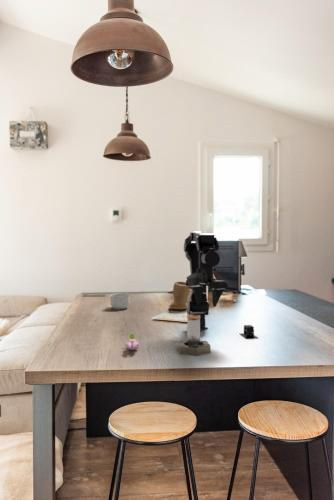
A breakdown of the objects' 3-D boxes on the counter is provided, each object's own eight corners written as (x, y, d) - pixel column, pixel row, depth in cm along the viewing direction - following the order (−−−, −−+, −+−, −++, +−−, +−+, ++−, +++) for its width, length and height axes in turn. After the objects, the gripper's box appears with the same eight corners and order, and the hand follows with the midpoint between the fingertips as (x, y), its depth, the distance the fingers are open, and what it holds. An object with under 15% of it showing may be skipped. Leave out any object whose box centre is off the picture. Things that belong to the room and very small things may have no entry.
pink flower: (124, 348, 161) (122, 352, 146) (124, 332, 161) (122, 334, 146) (141, 347, 161) (141, 352, 146) (140, 331, 162) (141, 334, 147)
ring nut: (170, 350, 152) (170, 343, 152) (197, 344, 159) (197, 338, 159) (189, 357, 143) (189, 349, 143) (216, 351, 150) (216, 344, 150)
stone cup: (189, 311, 229) (189, 283, 229) (167, 310, 231) (167, 282, 231) (192, 306, 244) (192, 280, 244) (171, 306, 246) (171, 280, 246)
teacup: (132, 309, 236) (132, 295, 235) (112, 310, 232) (112, 296, 231) (125, 305, 249) (124, 291, 248) (106, 306, 245) (106, 292, 244)
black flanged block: (235, 334, 179) (235, 323, 179) (252, 333, 180) (252, 322, 179) (245, 341, 166) (245, 329, 166) (263, 340, 167) (263, 329, 167)
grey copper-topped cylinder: (185, 349, 153) (185, 314, 152) (197, 348, 154) (197, 313, 154) (190, 353, 148) (190, 317, 148) (202, 351, 150) (202, 316, 149)
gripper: (175, 265, 171) (175, 304, 171) (206, 267, 156) (207, 310, 156) (196, 264, 178) (196, 302, 178) (228, 266, 163) (229, 307, 163)
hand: (206, 305), depth 169 cm, fingers open, 9 cm apart
